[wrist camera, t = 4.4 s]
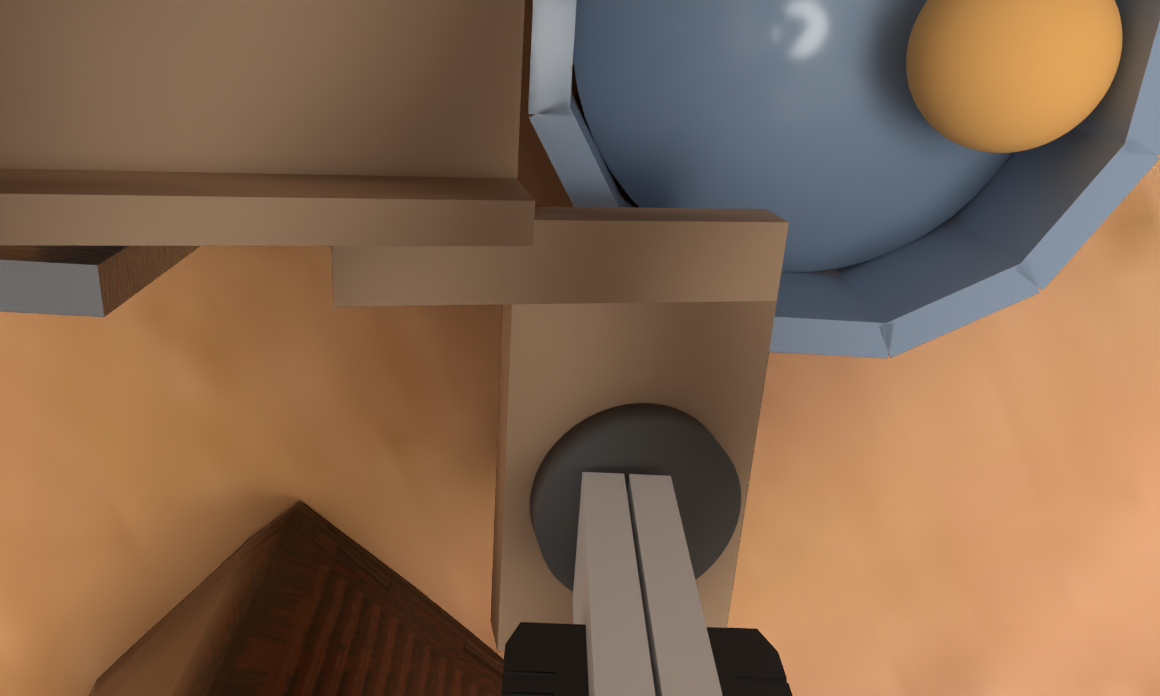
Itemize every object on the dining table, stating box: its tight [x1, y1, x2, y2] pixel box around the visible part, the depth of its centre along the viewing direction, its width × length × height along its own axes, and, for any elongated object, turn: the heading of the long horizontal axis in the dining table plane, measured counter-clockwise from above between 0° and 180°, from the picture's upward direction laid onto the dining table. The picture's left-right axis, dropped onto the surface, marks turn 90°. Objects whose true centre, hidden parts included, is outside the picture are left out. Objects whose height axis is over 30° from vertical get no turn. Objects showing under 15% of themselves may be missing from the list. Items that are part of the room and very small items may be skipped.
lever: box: [0, 0, 789, 652], centre depth 14 cm, size 22×15×4 cm
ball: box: [906, 0, 1123, 153], centre depth 19 cm, size 4×4×4 cm
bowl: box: [528, 0, 1160, 358], centre depth 19 cm, size 13×13×4 cm
